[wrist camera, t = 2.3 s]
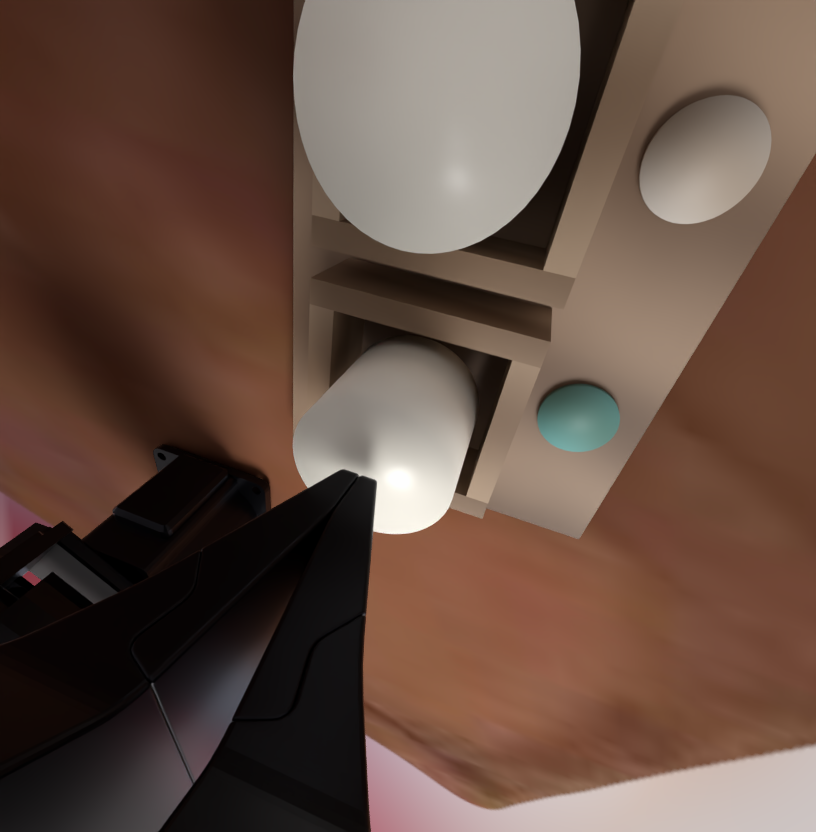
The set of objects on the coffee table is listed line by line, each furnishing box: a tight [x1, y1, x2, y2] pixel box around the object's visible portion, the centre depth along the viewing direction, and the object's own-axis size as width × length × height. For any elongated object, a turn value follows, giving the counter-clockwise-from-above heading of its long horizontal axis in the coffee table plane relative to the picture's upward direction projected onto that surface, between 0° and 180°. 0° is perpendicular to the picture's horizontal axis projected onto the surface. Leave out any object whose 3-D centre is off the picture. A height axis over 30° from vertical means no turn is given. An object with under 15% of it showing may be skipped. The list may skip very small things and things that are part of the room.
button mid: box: [293, 0, 581, 254], centre depth 7 cm, size 4×4×4 cm
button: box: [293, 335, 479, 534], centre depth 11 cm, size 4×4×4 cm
